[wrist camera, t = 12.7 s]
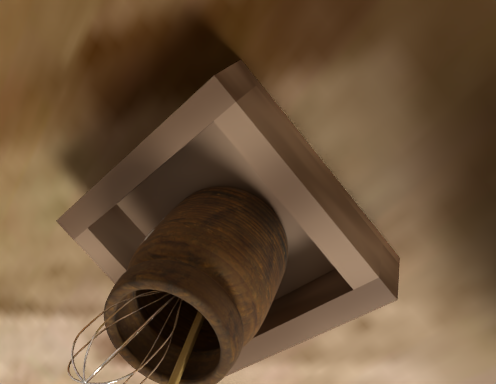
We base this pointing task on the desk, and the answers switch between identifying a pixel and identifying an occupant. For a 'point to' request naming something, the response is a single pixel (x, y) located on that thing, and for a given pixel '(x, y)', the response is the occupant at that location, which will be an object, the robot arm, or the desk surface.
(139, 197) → the socket block
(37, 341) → the desk surface
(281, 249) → the utensil holder
